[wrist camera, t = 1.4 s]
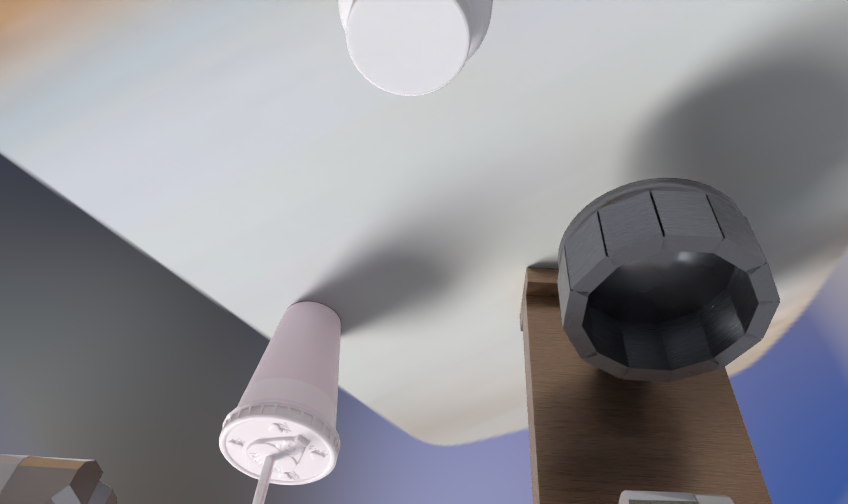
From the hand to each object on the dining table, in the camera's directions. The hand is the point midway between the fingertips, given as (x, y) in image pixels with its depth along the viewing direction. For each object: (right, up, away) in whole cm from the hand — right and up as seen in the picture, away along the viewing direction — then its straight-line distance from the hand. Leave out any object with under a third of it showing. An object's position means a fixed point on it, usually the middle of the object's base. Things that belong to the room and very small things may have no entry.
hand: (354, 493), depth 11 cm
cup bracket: (+12, +5, +27) cm, 30 cm away
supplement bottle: (+1, +17, +19) cm, 25 cm away
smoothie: (-6, -1, +34) cm, 34 cm away
